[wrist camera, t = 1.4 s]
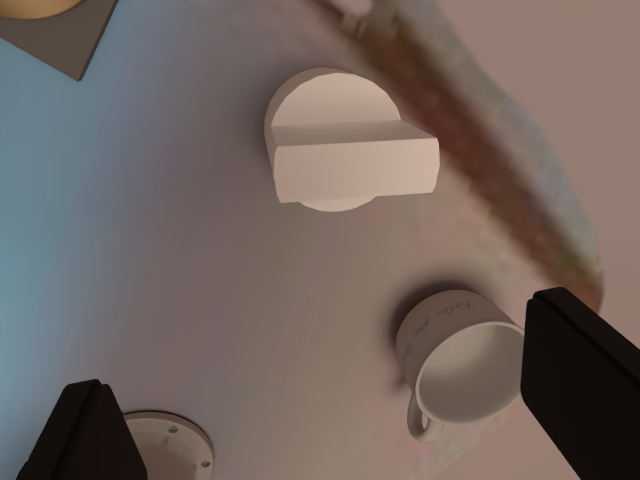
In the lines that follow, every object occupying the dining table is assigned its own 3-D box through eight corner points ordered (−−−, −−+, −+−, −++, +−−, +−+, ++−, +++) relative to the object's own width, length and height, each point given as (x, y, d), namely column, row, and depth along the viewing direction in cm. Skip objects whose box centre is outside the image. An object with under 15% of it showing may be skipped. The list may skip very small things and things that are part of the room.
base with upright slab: (381, 65, 34) (447, 77, 23) (378, 182, 38) (433, 241, 27) (259, 69, 33) (267, 84, 22) (267, 190, 36) (278, 254, 26)
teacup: (439, 254, 41) (480, 300, 34) (514, 310, 45) (567, 361, 38) (343, 363, 44) (362, 426, 37) (421, 405, 48) (453, 470, 41)
